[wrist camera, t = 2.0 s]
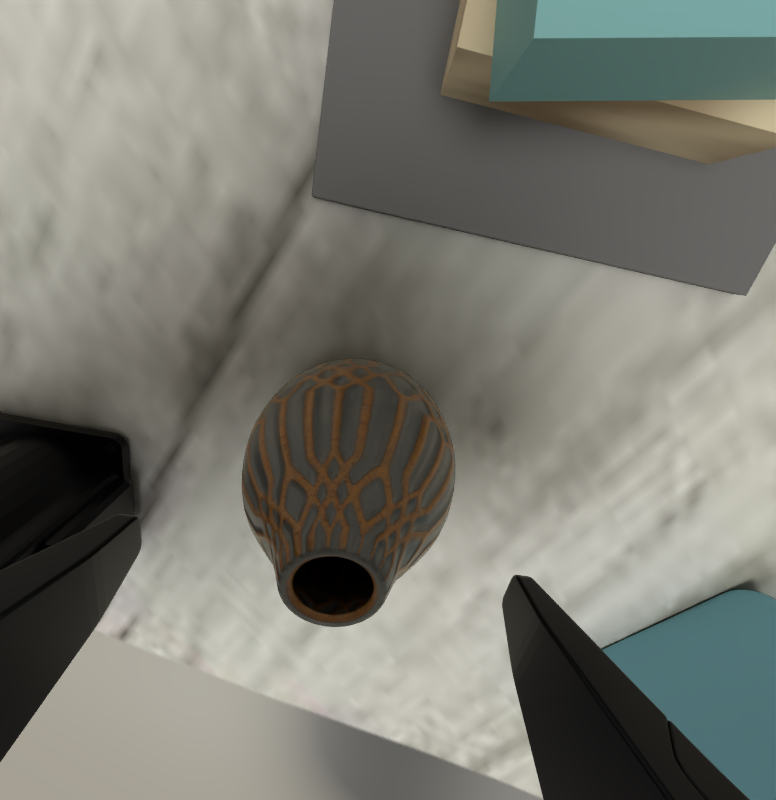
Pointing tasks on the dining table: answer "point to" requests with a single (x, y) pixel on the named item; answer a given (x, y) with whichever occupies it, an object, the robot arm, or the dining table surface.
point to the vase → (347, 486)
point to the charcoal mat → (522, 163)
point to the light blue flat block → (715, 682)
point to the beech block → (612, 104)
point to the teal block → (634, 50)
